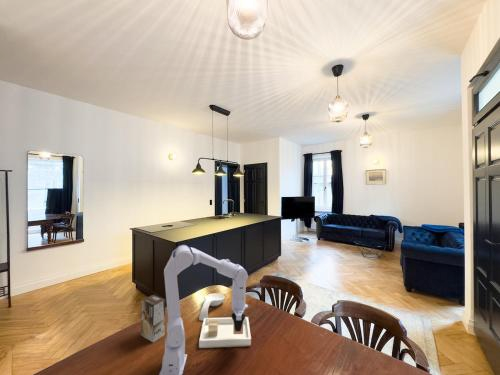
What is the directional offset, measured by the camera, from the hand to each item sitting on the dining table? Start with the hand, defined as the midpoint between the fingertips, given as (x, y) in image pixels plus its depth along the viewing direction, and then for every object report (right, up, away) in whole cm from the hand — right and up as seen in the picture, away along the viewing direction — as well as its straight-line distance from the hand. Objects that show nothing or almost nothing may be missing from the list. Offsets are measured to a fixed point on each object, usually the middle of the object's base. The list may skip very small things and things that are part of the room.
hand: (237, 327), depth 91 cm
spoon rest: (-17, -9, +29) cm, 34 cm away
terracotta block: (0, -2, 0) cm, 2 cm away
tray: (-6, -8, +8) cm, 13 cm away
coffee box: (-39, -8, +6) cm, 40 cm away
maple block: (-12, -8, +7) cm, 16 cm away
